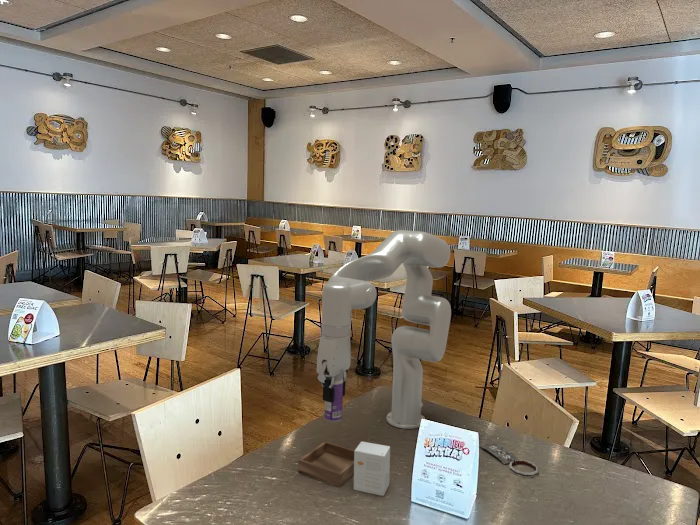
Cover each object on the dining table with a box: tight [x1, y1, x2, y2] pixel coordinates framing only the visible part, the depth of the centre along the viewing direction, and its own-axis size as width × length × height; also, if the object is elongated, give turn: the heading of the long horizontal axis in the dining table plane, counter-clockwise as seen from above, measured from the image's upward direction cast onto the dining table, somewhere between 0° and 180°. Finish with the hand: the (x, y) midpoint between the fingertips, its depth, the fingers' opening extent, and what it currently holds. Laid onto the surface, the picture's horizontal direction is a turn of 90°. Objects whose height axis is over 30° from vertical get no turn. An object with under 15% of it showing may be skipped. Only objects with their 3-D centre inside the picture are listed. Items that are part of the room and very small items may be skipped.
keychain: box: [479, 442, 539, 479], centre depth 147 cm, size 8×19×2 cm, turn 25°
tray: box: [297, 440, 355, 488], centre depth 139 cm, size 13×13×4 cm
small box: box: [353, 441, 391, 497], centre depth 130 cm, size 8×6×10 cm
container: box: [323, 369, 344, 423], centre depth 136 cm, size 5×5×15 cm
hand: (333, 397), depth 137 cm, fingers closed on container, 4 cm apart
